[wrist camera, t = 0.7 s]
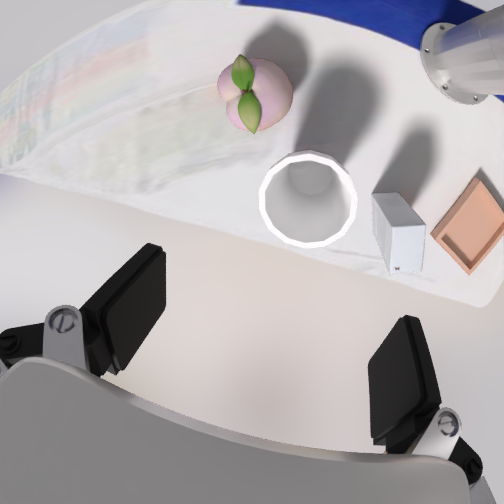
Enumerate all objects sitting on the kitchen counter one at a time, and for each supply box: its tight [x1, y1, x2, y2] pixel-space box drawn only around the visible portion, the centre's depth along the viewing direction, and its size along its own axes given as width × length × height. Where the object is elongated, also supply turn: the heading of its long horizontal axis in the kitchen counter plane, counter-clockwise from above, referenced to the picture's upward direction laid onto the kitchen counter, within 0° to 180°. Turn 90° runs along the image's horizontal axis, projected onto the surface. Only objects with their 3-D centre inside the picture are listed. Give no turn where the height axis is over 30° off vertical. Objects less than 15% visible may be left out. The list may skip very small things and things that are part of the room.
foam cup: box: [259, 150, 358, 248], centre depth 31 cm, size 10×9×13 cm
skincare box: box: [372, 192, 426, 275], centre depth 31 cm, size 6×4×12 cm
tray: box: [431, 177, 504, 275], centre depth 32 cm, size 12×11×2 cm
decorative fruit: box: [217, 54, 293, 134], centre depth 28 cm, size 9×8×10 cm
